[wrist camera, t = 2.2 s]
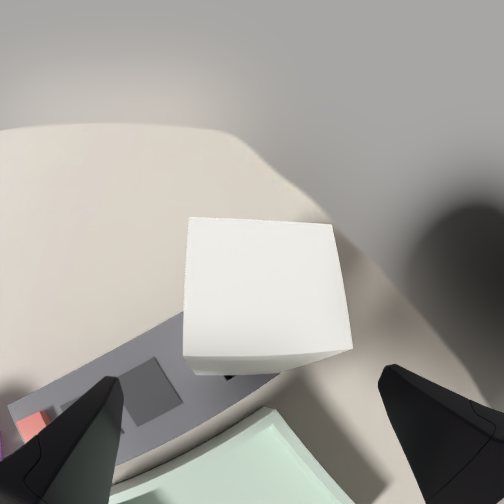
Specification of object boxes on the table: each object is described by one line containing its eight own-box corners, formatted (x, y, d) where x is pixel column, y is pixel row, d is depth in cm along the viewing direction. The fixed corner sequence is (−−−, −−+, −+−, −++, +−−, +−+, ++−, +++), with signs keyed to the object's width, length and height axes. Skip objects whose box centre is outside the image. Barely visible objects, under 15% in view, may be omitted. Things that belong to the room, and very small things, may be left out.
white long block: (269, 375, 17) (353, 348, 7) (197, 376, 16) (182, 355, 6) (265, 315, 19) (331, 224, 9) (197, 315, 18) (189, 216, 8)
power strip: (254, 284, 21) (264, 260, 17) (303, 351, 19) (324, 341, 15) (29, 406, 13) (0, 404, 10) (69, 479, 11) (44, 491, 8)
